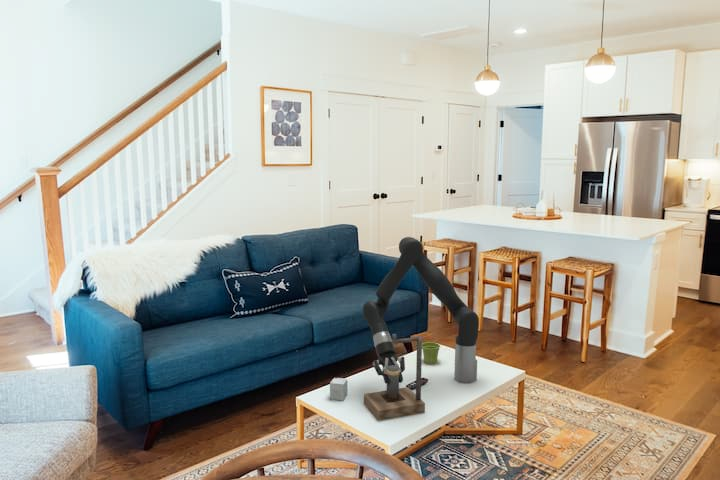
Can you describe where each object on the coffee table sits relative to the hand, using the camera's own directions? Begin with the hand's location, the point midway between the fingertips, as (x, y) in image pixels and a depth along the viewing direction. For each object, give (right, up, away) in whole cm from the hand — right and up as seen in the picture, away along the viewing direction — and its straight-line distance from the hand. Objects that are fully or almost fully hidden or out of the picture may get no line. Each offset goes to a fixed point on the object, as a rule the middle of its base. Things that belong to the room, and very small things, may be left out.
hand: (394, 382), depth 221 cm
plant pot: (+21, -3, +51) cm, 56 cm away
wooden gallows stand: (0, -11, +3) cm, 11 cm away
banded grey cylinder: (-1, -5, +3) cm, 5 cm away
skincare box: (-23, -9, +12) cm, 28 cm away
